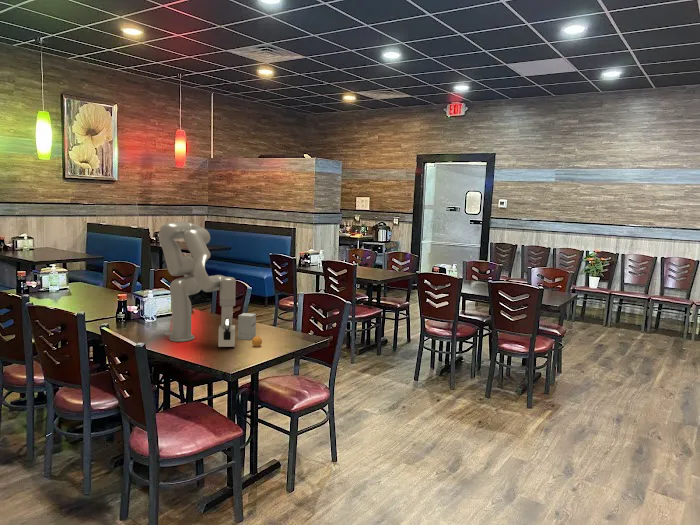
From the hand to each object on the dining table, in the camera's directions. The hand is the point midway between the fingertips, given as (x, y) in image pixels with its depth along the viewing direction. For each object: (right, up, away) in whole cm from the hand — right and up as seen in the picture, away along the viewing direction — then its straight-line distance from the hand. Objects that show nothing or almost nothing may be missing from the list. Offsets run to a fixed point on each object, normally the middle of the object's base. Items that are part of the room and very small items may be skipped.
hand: (227, 337), depth 269 cm
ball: (+14, -2, +3) cm, 15 cm away
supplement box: (+6, -3, +19) cm, 20 cm away
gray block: (0, -4, 0) cm, 4 cm away
